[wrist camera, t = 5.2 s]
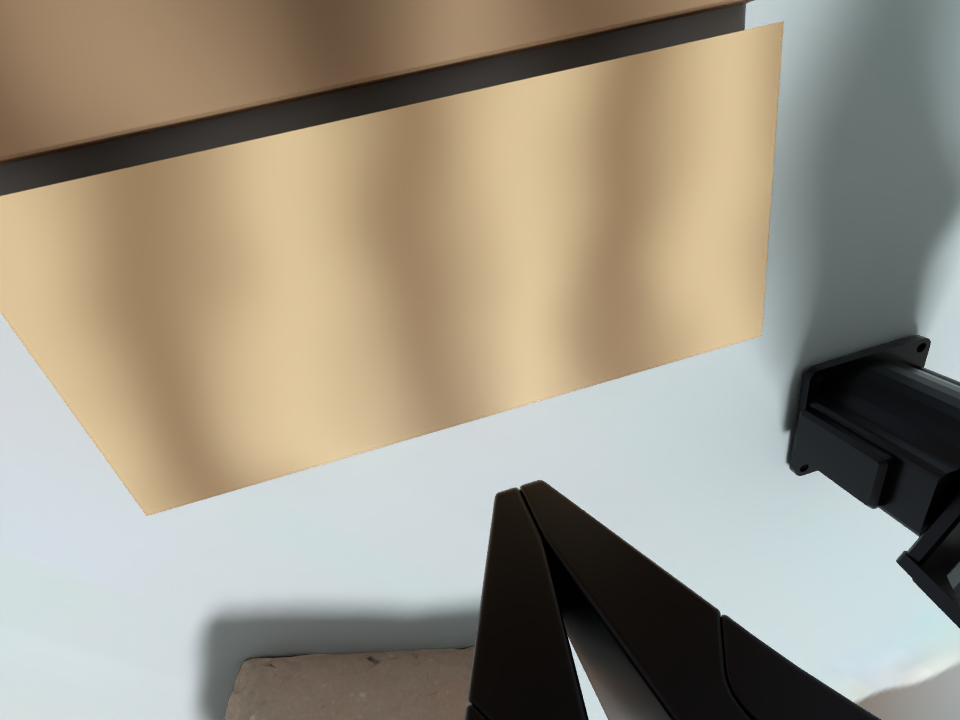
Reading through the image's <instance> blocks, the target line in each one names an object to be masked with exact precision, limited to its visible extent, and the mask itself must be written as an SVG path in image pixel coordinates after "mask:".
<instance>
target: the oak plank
mask: <svg viewBox="0 0 960 720" xmlns="http://www.w3.org/2000/svg"><path fill="white" fill-rule="evenodd" d="M782 37H783V22H779V23H775V24H770V25H766V26H761V27H757V28H752V29H748V30H743V31H739V32H734V33H730V34H725V35H721V36H716V37H712V38H707V39H703V40H698V41H694V42H689V43H685V44H680V45H676V46H672V47H667V48H663V49H658V50H654V51H649V52H645V53H640V54H636V55H631V56H627V57H622V58H618V59H613V60H609V61H604V62H600V63H595V64H591V65H586V66H582V67H577V68H573V69H568V70H564V71H559V72H555V73H550V74H546V75H541V76H537V77H532V78H528V79H523V80H519V81H515V82H510V83H506V84H501V85H497V86H492V87H488V88H483V89H479V90H474V91H470V92H465V93H461V94H456V95H452V96H447V97H443V98H438V99H434V100H429V101H425V102H420V103H416V104H411V105H407V106H402V107H398V108H393V109H389V110H384V111H380V112H375V113H371V114H367V115H362V116H358V117H353V118H349V119H344V120H340V121H335V122H331V123H326V124H322V125H317V126H313V127H308V128H304V129H299V130H295V131H290V132H286V133H281V134H277V135H272V136H268V137H263V138H259V139H254V140H250V141H245V142H241V143H236V144H232V145H227V146H223V147H218V148H214V149H210V150H205V151H201V152H196V153H192V154H187V155H183V156H178V157H174V158H169V159H165V160H160V161H156V162H151V163H147V164H142V165H138V166H133V167H129V168H124V169H120V170H115V171H111V172H106V173H102V174H97V175H93V176H88V177H84V178H79V179H75V180H70V181H66V182H62V183H57V184H53V185H48V186H44V187H39V188H35V189H30V190H26V191H21V192H17V193H12V194H8V195H3V196H0V312H1V314H2V315H3V317H4V318H5V319H6V321H7V322H8V324H9V325H10V326H11V328H12V329H13V331H14V332H15V333H16V335H17V336H18V338H19V339H20V340H21V342H22V343H23V345H24V346H25V347H26V349H27V350H28V351H29V353H30V354H31V356H32V357H33V358H34V360H35V361H36V363H37V364H38V365H39V367H40V368H41V370H42V371H43V372H44V374H45V375H46V377H47V378H48V379H49V381H50V382H51V384H52V385H53V386H54V388H55V389H56V391H57V392H58V393H59V395H60V396H61V397H62V399H63V400H64V402H65V403H66V404H67V406H68V407H69V409H70V410H71V411H72V413H73V414H74V416H75V417H76V418H77V420H78V421H79V423H80V424H81V425H82V427H83V428H84V430H85V431H86V432H87V434H88V435H89V437H90V438H91V439H92V441H93V442H94V443H95V445H96V446H97V448H98V449H99V450H100V452H101V453H102V455H103V456H104V457H105V459H106V460H107V462H108V463H109V464H110V466H111V467H112V469H113V470H114V471H115V473H116V474H117V476H118V477H119V478H120V480H121V481H122V482H123V484H124V485H125V487H126V488H127V489H128V491H129V492H130V494H131V495H132V496H133V498H134V499H135V501H136V502H137V503H138V505H139V506H140V508H141V509H142V510H143V512H144V513H145V515H146V516H149V515H152V514H155V513H159V512H162V511H166V510H169V509H172V508H176V507H179V506H183V505H186V504H190V503H193V502H196V501H200V500H203V499H207V498H210V497H213V496H217V495H220V494H224V493H227V492H231V491H234V490H237V489H241V488H244V487H248V486H251V485H254V484H258V483H261V482H265V481H268V480H272V479H275V478H278V477H282V476H285V475H289V474H292V473H296V472H299V471H302V470H306V469H309V468H313V467H316V466H319V465H323V464H326V463H330V462H333V461H337V460H340V459H343V458H347V457H350V456H354V455H357V454H360V453H364V452H367V451H371V450H374V449H378V448H381V447H384V446H388V445H391V444H395V443H398V442H401V441H405V440H408V439H412V438H415V437H419V436H422V435H425V434H429V433H432V432H436V431H439V430H442V429H446V428H449V427H453V426H456V425H460V424H463V423H466V422H470V421H473V420H477V419H480V418H483V417H487V416H490V415H494V414H497V413H501V412H504V411H507V410H511V409H514V408H518V407H521V406H525V405H528V404H531V403H535V402H538V401H542V400H545V399H548V398H552V397H555V396H559V395H562V394H566V393H569V392H572V391H576V390H579V389H583V388H586V387H589V386H593V385H596V384H600V383H603V382H607V381H610V380H613V379H617V378H620V377H624V376H627V375H630V374H634V373H637V372H641V371H644V370H648V369H651V368H654V367H658V366H661V365H665V364H668V363H671V362H675V361H678V360H682V359H685V358H689V357H692V356H695V355H699V354H702V353H706V352H709V351H713V350H716V349H719V348H723V347H726V346H730V345H733V344H736V343H740V342H743V341H747V340H750V339H754V338H757V337H760V336H762V324H763V309H764V295H765V281H766V266H767V252H768V238H769V223H770V209H771V194H772V180H773V166H774V151H775V137H776V123H777V108H778V94H779V80H780V65H781V51H782Z"/></svg>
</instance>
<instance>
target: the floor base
mask: <svg viewBox="0 0 960 720" xmlns="http://www.w3.org/2000/svg"><path fill="white" fill-rule="evenodd" d="M751 1H753V0H0V196H3V195H8V194H12V193H17V192H21V191H26V190H30V189H35V188H39V187H44V186H48V185H53V184H57V183H62V182H66V181H70V180H75V179H79V178H84V177H88V176H93V175H97V174H102V173H106V172H111V171H115V170H120V169H124V168H129V167H133V166H138V165H142V164H147V163H151V162H156V161H160V160H165V159H169V158H174V157H178V156H183V155H187V154H192V153H196V152H201V151H205V150H210V149H214V148H218V147H223V146H227V145H232V144H236V143H241V142H245V141H250V140H254V139H259V138H263V137H268V136H272V135H277V134H281V133H286V132H290V131H295V130H299V129H304V128H308V127H313V126H317V125H322V124H326V123H331V122H335V121H340V120H344V119H349V118H353V117H358V116H362V115H367V114H371V113H375V112H380V111H384V110H389V109H393V108H398V107H402V106H407V105H411V104H416V103H420V102H425V101H429V100H434V99H438V98H443V97H447V96H452V95H456V94H461V93H465V92H470V91H474V90H479V89H483V88H488V87H492V86H497V85H501V84H506V83H510V82H515V81H519V80H523V79H528V78H532V77H537V76H541V75H546V74H550V73H555V72H559V71H564V70H568V69H573V68H577V67H582V66H586V65H591V64H595V63H600V62H604V61H609V60H613V59H618V58H622V57H627V56H631V55H636V54H640V53H645V52H649V51H654V50H658V49H663V48H667V47H672V46H676V45H680V44H685V43H689V42H694V41H698V40H703V39H707V38H712V37H716V36H721V35H725V34H730V33H734V32H739V31H743V30H744V28H745V10H746V3H748V2H751Z"/></svg>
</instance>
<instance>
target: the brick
mask: <svg viewBox="0 0 960 720" xmlns="http://www.w3.org/2000/svg"><path fill="white" fill-rule="evenodd" d="M474 648H475V647H469V648H466V649H455V648H447V649H418V650H412V651H408V650H399V651H386V652H359V653H347V654H310V655H298V656H293V657H281V658H253V659H249V660H246V661H244V662H243V664H242V666H241V668H240V671H239V673H238V674H237V676H236V680H235V683H234V687H233V692H232V694H231V696H230V697H229V701H228V706H227V710H226V714H225V719H224V720H465V712H466V707H467V706H468V705H469V703H468V693H469V685H470V678H471V670H472V663H473V656H474Z"/></svg>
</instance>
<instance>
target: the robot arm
mask: <svg viewBox="0 0 960 720" xmlns="http://www.w3.org/2000/svg"><path fill="white" fill-rule="evenodd" d="M930 343H931V341H930V339H928V338H925V337H923V336H920V335H914V336H911V337H908V338H904V339H901V340H898V341H895V342H891V343H888V344H885V345H881V346H878V347H875V348H871V349H868V350H865V351H862V352H858V353H855V354H852V355H848V356H845V357H842V358H838V359H835V360H832V361H829V362H825V363H822V364H819V365H815V366H812V367H810V368H809V369H808V370H807V371H806V372H805V373H804V375H803V378H802V384H801V391H800V398H799V405H798V412H797V418H796V425H795V432H794V439H793V445H792V452H791V459H790V466H789V467H790V470H791V471H793V472H794V473H795V474H796V475H798V476H802V475H806V474H809V473H812V472H815V471H820V472H821V473H822V474H824V475H825V476H827V477H828V478H829V479H831V480H832V481H833V482H835V483H836V484H838V485H839V486H840V487H842V488H843V489H844V490H846V491H847V492H849V493H850V494H851V495H853V496H854V497H855V498H857V499H858V500H859V501H861V502H862V503H864V504H865V505H867V506H868V507H870V508H872V509H875V508H878V507H879V508H880V509H881V510H883V511H884V512H886V513H887V514H888V515H890V516H891V517H893V518H894V519H895V520H897V521H898V522H900V523H901V524H902V525H904V526H905V527H907V528H908V529H909V530H911V531H912V532H914V533H915V534H916V535H918V536H919V538H918V540H917V541H916V542H915V543H914V544H913V545H912V547H911V548H910V549H909V550H908V551H904V552H903V553H902V554H901V555H900V556H899V557H898V559H897V560H896V562H897V563H898V564H899V565H900V566H901V567H902V568H903V569H904V570H905V571H906V572H907V573H908V574H909V575H910V576H911V577H912V578H913V579H912V580H913V581H914V582H915V583H916V584H917V585H918V586H919V587H920V588H921V590H922V591H923V592H924V593H925V594H926V595H927V596H928V597H929V598H930V599H931V600H932V601H933V602H934V603H935V604H936V605H937V606H938V607H939V608H940V609H941V610H942V611H943V612H944V613H945V614H946V615H947V616H948V617H949V618H950V619H951V620H952V621H953V622H954V623H955V624H956V625H957V626H958V627H959V628H960V382H958V381H956V380H953V379H951V378H948V377H946V376H943V375H941V374H938V373H936V372H933V371H931V370H928V369H926V368H924V365H925V362H926V358H927V355H928V351H929V348H930ZM567 635H568V636H567ZM568 637H569V639H570V641H571V643H572V645H573V647H574V649H575V652H576V654H577V656H578V658H579V660H580V662H581V664H582V666H583V668H584V670H585V672H586V674H587V676H588V679H589V681H590V683H591V685H592V687H593V689H594V691H595V693H596V695H597V697H598V699H599V701H600V703H601V706H602V708H603V710H604V712H605V714H606V716H607V718H608V720H881V719H879V718H878V717H876V716H875V715H873V714H871V713H870V712H868V711H866V710H865V709H863V708H862V707H860V706H858V705H857V704H855V703H854V702H852V701H851V700H849V699H847V698H846V697H844V696H843V695H841V694H840V693H838V692H836V691H835V690H833V689H832V688H830V687H829V686H827V685H826V684H824V683H822V682H821V681H819V680H818V679H816V678H815V677H813V676H812V675H810V674H808V673H807V672H805V671H804V670H802V669H801V668H799V667H798V666H796V665H795V664H793V663H792V662H791V661H789V660H788V659H786V658H785V657H783V656H782V655H781V654H779V653H778V652H776V651H775V650H773V649H772V648H771V647H769V646H768V645H766V644H765V643H764V642H762V641H761V640H759V639H758V638H756V637H755V636H754V635H752V634H751V633H749V632H748V631H747V630H745V629H744V628H743V627H741V626H740V625H739V624H737V623H736V622H735V621H733V620H732V619H731V618H729V617H728V616H727V615H722V616H721V614H720V611H719V610H718V609H717V608H715V607H714V606H713V605H711V604H710V603H709V602H707V601H706V600H705V599H703V598H702V597H700V596H699V595H698V594H696V593H695V592H694V591H692V590H691V589H690V588H688V587H687V586H686V585H684V584H683V583H681V582H680V581H679V580H677V579H676V578H675V577H673V576H672V575H671V574H669V573H668V572H667V571H665V570H664V569H662V568H661V567H660V566H658V565H657V564H656V563H654V562H653V561H652V560H650V559H649V558H648V557H646V556H645V555H643V554H642V553H641V552H639V551H638V550H637V549H635V548H634V547H633V546H631V545H630V544H629V543H627V542H626V541H624V540H623V539H622V538H620V537H619V536H618V535H616V534H615V533H614V532H612V531H611V530H610V529H608V528H607V527H605V526H604V525H603V524H601V523H600V522H599V521H597V520H596V519H595V518H593V517H592V516H591V515H589V514H588V513H586V512H585V511H584V510H582V509H581V508H580V507H578V506H577V505H576V504H574V503H573V502H571V501H570V500H569V499H567V498H566V497H565V496H563V495H562V494H561V493H559V492H558V491H557V490H555V489H554V488H552V487H551V486H550V485H548V484H547V483H546V482H544V481H542V480H537V481H534V482H531V483H528V484H524V485H522V486H521V487H520V490H519V489H518V488H511V489H508V490H505V491H502V492H499V493H497V494H496V496H495V500H494V507H493V515H492V522H491V530H490V537H489V544H488V552H487V559H486V567H485V574H484V581H483V589H482V596H481V604H480V611H479V619H478V626H477V633H476V641H475V648H474V656H473V663H472V670H471V678H470V685H469V693H468V703H469V705H468V706H467V707H466V712H465V720H589V719H588V715H587V711H586V707H585V703H584V699H583V695H582V691H581V687H580V683H579V679H578V675H577V671H576V667H575V664H574V660H573V656H572V652H571V648H570V644H569V640H568Z"/></svg>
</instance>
